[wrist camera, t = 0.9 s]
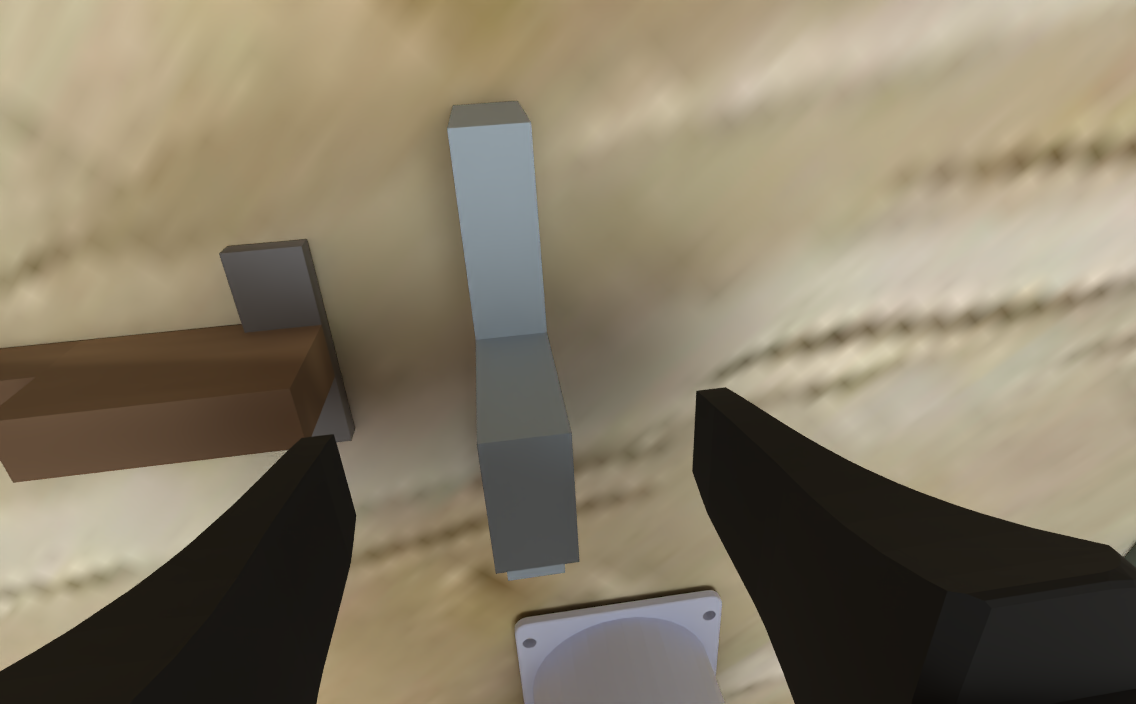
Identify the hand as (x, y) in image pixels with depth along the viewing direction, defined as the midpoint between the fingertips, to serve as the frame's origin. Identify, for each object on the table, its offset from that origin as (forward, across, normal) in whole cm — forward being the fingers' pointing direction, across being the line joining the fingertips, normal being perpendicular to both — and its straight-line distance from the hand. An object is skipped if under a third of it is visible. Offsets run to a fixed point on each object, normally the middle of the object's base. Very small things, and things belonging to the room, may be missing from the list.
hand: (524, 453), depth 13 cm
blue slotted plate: (+6, 0, 0) cm, 7 cm away
